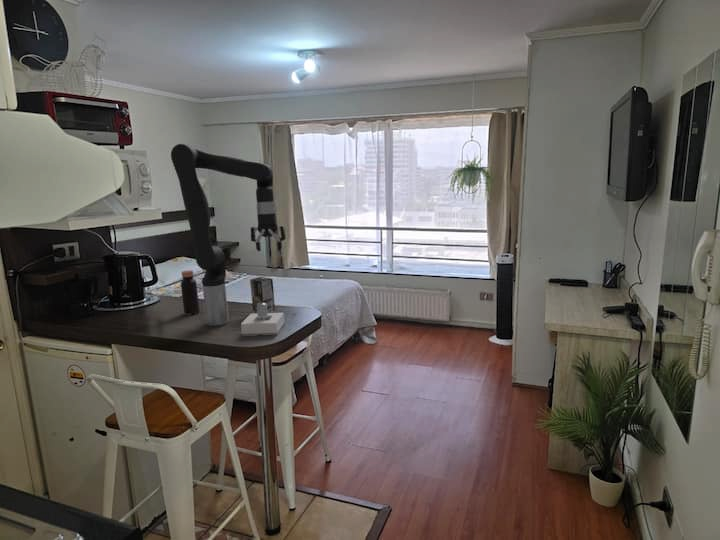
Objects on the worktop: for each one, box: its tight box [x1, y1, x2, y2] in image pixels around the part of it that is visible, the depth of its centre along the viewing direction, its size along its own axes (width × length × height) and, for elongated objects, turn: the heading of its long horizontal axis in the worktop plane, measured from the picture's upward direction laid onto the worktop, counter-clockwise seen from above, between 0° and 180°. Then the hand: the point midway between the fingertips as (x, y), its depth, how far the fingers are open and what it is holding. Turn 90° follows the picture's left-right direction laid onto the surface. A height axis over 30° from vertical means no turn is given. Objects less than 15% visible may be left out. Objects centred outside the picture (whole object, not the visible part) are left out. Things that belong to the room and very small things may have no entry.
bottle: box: [180, 270, 200, 315], centre depth 215 cm, size 7×7×20 cm
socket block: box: [240, 312, 285, 337], centre depth 187 cm, size 14×14×5 cm
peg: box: [257, 302, 268, 321], centre depth 187 cm, size 4×4×10 cm
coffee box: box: [249, 276, 276, 313], centre depth 210 cm, size 9×6×16 cm
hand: (269, 250), depth 197 cm, fingers open, 8 cm apart
